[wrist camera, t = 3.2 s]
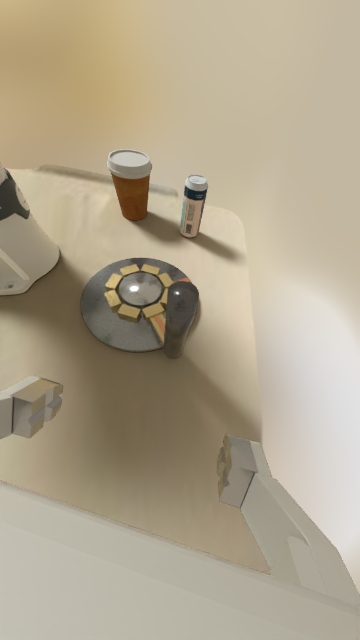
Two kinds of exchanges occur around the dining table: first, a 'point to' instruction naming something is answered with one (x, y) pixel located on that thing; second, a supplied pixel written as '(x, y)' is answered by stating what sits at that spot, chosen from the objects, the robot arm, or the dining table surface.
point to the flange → (132, 292)
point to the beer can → (193, 205)
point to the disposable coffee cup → (131, 181)
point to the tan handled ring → (159, 307)
